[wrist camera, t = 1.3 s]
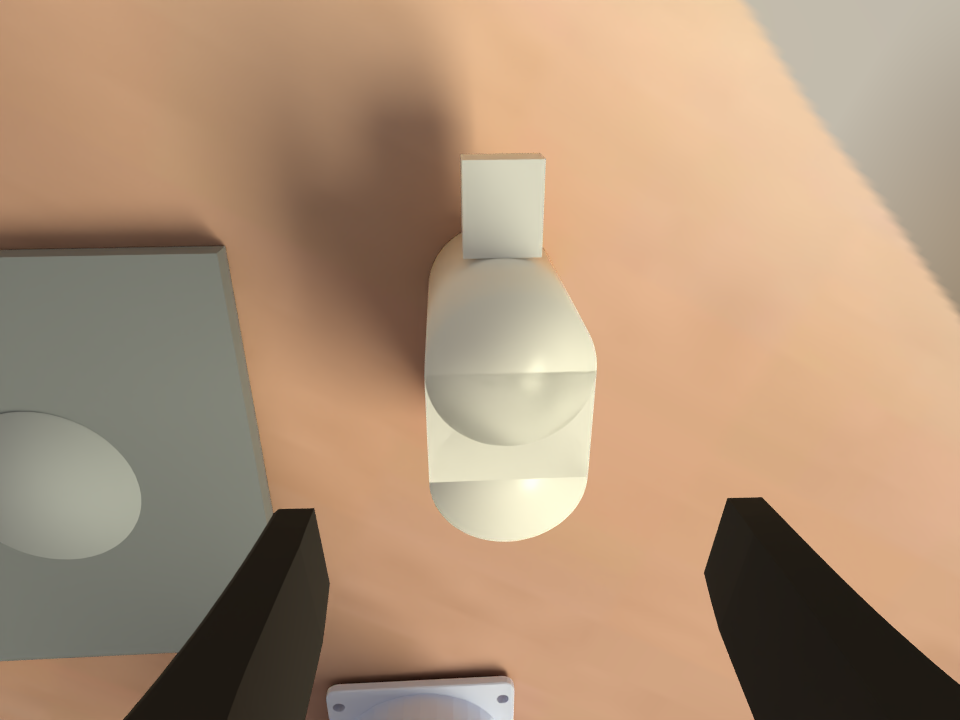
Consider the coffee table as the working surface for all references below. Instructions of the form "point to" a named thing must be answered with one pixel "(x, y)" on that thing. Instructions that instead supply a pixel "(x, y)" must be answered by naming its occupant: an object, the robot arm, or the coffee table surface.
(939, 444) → the coffee table surface
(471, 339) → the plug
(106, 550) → the mat
